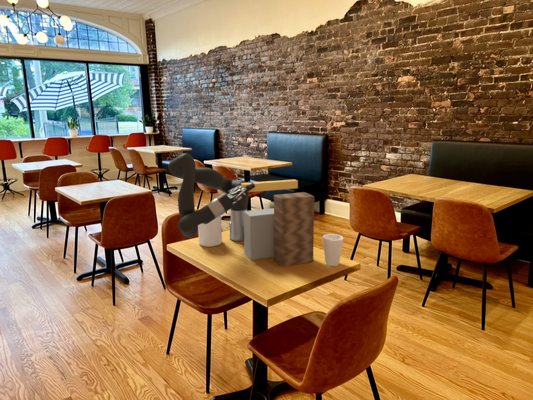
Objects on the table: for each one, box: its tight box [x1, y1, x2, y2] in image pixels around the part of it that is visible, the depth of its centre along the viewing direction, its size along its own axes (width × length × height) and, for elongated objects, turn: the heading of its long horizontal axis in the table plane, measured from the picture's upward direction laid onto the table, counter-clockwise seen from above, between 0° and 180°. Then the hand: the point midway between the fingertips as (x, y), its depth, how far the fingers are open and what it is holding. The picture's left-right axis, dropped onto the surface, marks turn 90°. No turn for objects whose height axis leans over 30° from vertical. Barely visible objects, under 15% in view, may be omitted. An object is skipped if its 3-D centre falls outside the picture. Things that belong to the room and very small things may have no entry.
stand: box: [273, 191, 315, 267], centre depth 188 cm, size 16×10×32 cm, turn 111°
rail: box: [241, 179, 299, 193], centre depth 179 cm, size 26×4×4 cm, turn 111°
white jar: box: [197, 215, 223, 248], centre depth 215 cm, size 12×12×20 cm
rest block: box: [243, 207, 274, 261], centre depth 197 cm, size 16×10×22 cm, turn 111°
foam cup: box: [322, 233, 344, 267], centre depth 186 cm, size 10×9×13 cm
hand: (252, 183), depth 176 cm, fingers closed on rail, 3 cm apart
